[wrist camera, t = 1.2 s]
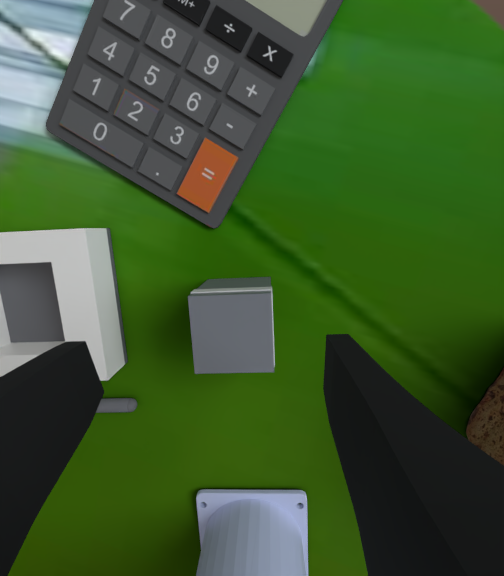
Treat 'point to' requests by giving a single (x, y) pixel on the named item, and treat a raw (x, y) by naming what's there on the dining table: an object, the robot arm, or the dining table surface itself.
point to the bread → (489, 421)
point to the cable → (117, 405)
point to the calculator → (186, 90)
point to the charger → (232, 326)
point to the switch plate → (60, 297)
